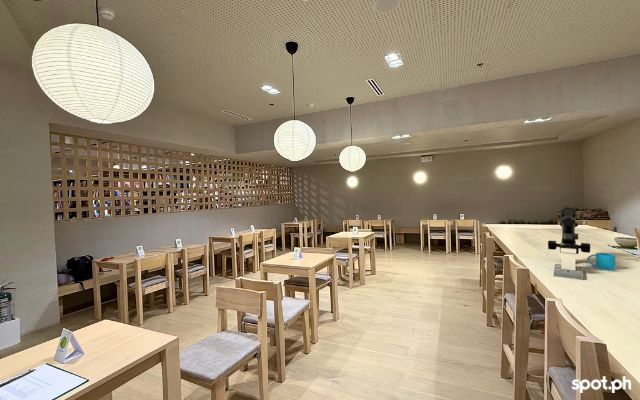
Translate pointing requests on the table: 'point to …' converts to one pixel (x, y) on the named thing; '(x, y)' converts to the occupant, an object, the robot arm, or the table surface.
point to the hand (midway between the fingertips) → (568, 258)
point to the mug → (604, 261)
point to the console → (568, 272)
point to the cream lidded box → (568, 258)
